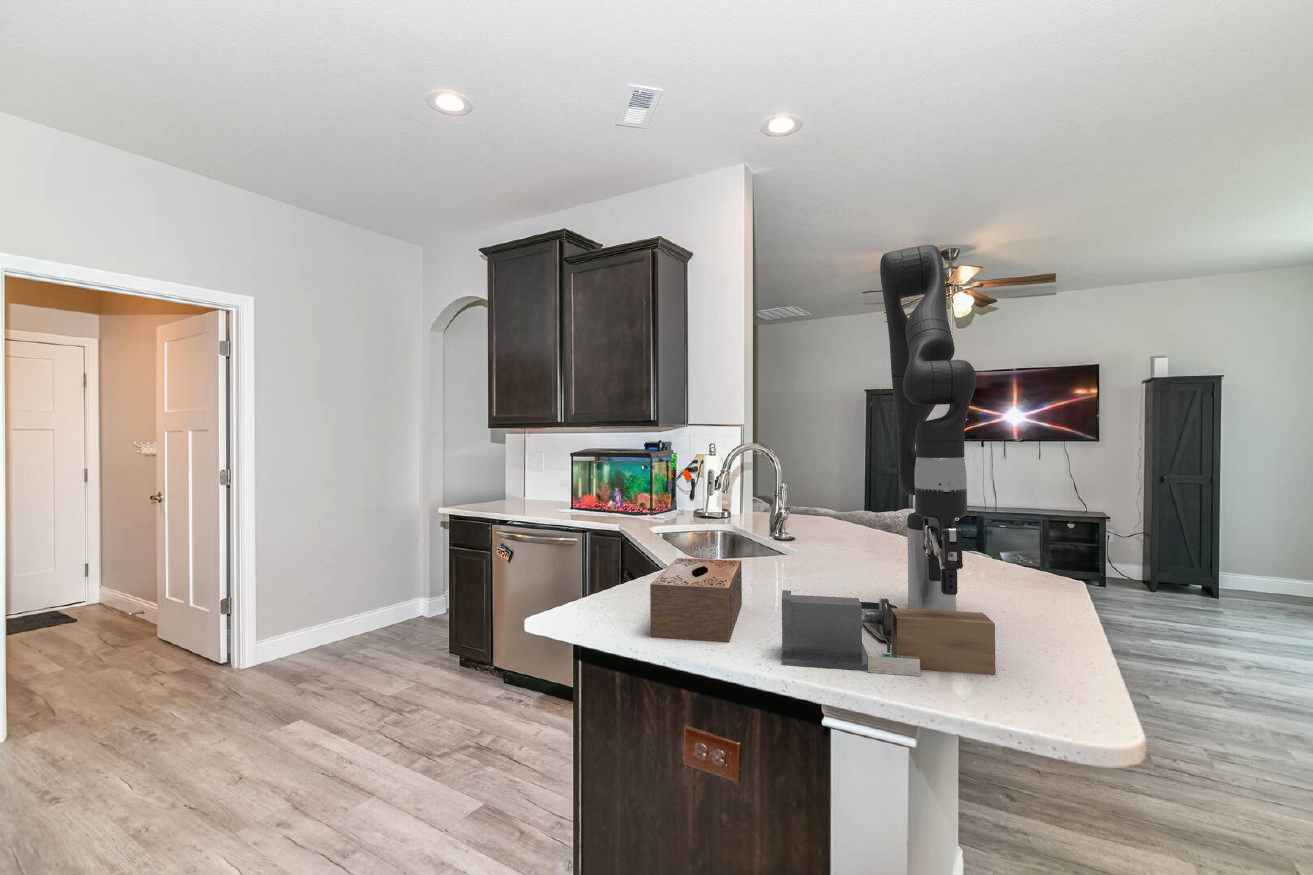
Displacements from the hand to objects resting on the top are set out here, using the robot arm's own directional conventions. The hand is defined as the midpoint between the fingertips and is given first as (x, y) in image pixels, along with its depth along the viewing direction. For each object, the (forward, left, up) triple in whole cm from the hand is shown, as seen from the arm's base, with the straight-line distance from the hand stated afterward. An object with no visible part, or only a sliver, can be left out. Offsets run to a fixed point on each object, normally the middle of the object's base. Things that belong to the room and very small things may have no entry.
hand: (941, 587), depth 96 cm
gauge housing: (0, -15, -12) cm, 19 cm away
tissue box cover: (-17, -42, -13) cm, 47 cm away
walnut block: (0, 0, -13) cm, 13 cm away
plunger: (+1, -15, -9) cm, 17 cm away
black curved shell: (-17, -6, -13) cm, 22 cm away
